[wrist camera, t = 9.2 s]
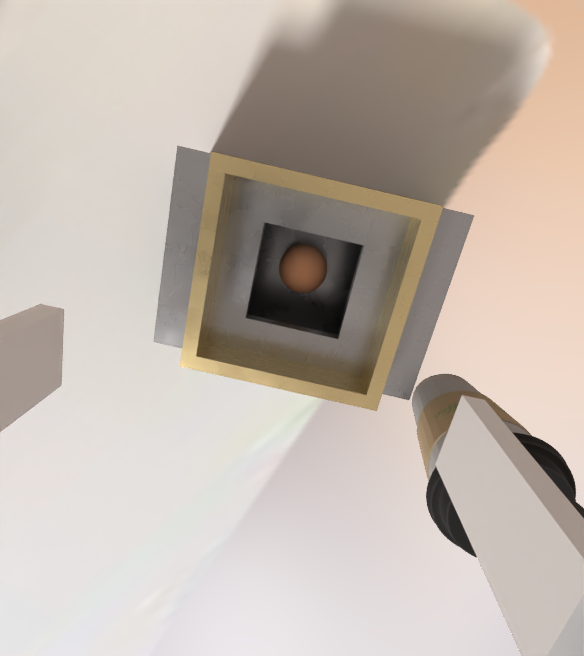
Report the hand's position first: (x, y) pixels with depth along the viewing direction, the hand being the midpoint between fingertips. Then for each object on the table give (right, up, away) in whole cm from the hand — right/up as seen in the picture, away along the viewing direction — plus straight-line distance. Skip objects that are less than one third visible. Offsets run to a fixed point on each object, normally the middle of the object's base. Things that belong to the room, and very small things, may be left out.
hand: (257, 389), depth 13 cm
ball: (+2, +7, +22) cm, 24 cm away
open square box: (+2, +8, +23) cm, 25 cm away
